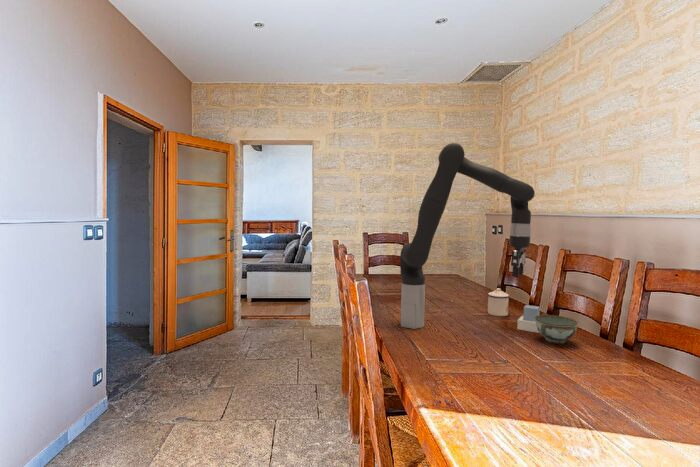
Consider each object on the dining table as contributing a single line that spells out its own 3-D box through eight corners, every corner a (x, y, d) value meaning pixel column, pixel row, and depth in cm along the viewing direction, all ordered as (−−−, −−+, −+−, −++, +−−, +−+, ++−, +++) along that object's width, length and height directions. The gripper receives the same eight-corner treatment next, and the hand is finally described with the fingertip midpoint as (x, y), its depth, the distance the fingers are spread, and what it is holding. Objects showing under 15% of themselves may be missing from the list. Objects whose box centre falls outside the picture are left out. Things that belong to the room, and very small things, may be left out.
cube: (537, 321, 149) (537, 309, 149) (523, 319, 152) (523, 307, 152) (539, 319, 153) (539, 306, 153) (525, 317, 156) (525, 304, 156)
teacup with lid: (511, 316, 170) (512, 290, 170) (491, 316, 171) (491, 290, 170) (502, 310, 182) (502, 285, 182) (482, 309, 183) (483, 285, 182)
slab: (539, 333, 147) (539, 323, 147) (517, 330, 152) (517, 320, 152) (543, 328, 154) (543, 319, 154) (521, 325, 158) (521, 315, 158)
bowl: (583, 349, 129) (584, 326, 129) (540, 346, 132) (541, 323, 132) (569, 337, 143) (569, 315, 142) (530, 334, 145) (530, 313, 145)
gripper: (514, 234, 161) (511, 272, 161) (505, 234, 149) (503, 276, 150) (533, 235, 156) (531, 274, 157) (526, 236, 145) (524, 278, 145)
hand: (517, 275), depth 153 cm, fingers open, 8 cm apart
